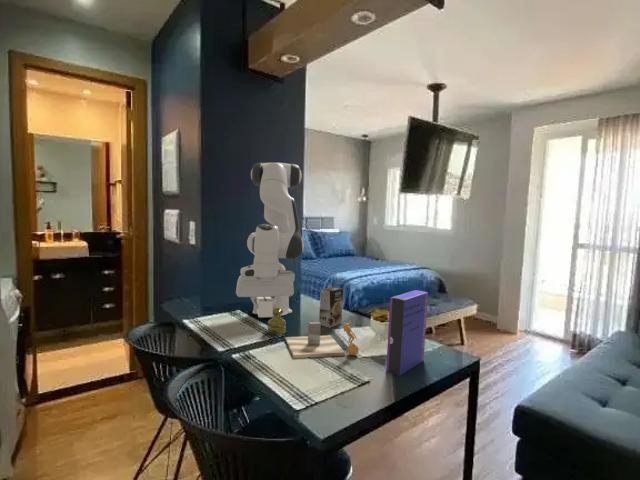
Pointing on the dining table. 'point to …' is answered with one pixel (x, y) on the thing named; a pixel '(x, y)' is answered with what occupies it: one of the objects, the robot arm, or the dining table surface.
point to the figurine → (352, 347)
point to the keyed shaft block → (314, 344)
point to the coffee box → (331, 306)
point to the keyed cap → (265, 307)
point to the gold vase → (276, 323)
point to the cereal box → (406, 331)
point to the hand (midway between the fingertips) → (264, 308)
